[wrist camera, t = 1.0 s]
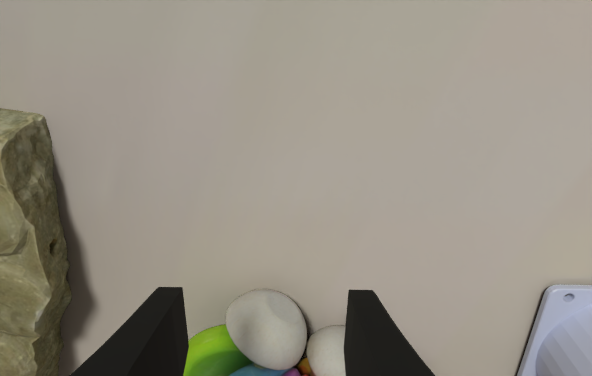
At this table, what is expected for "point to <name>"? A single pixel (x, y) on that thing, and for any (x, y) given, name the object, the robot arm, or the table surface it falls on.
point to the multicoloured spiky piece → (265, 342)
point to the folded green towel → (30, 249)
